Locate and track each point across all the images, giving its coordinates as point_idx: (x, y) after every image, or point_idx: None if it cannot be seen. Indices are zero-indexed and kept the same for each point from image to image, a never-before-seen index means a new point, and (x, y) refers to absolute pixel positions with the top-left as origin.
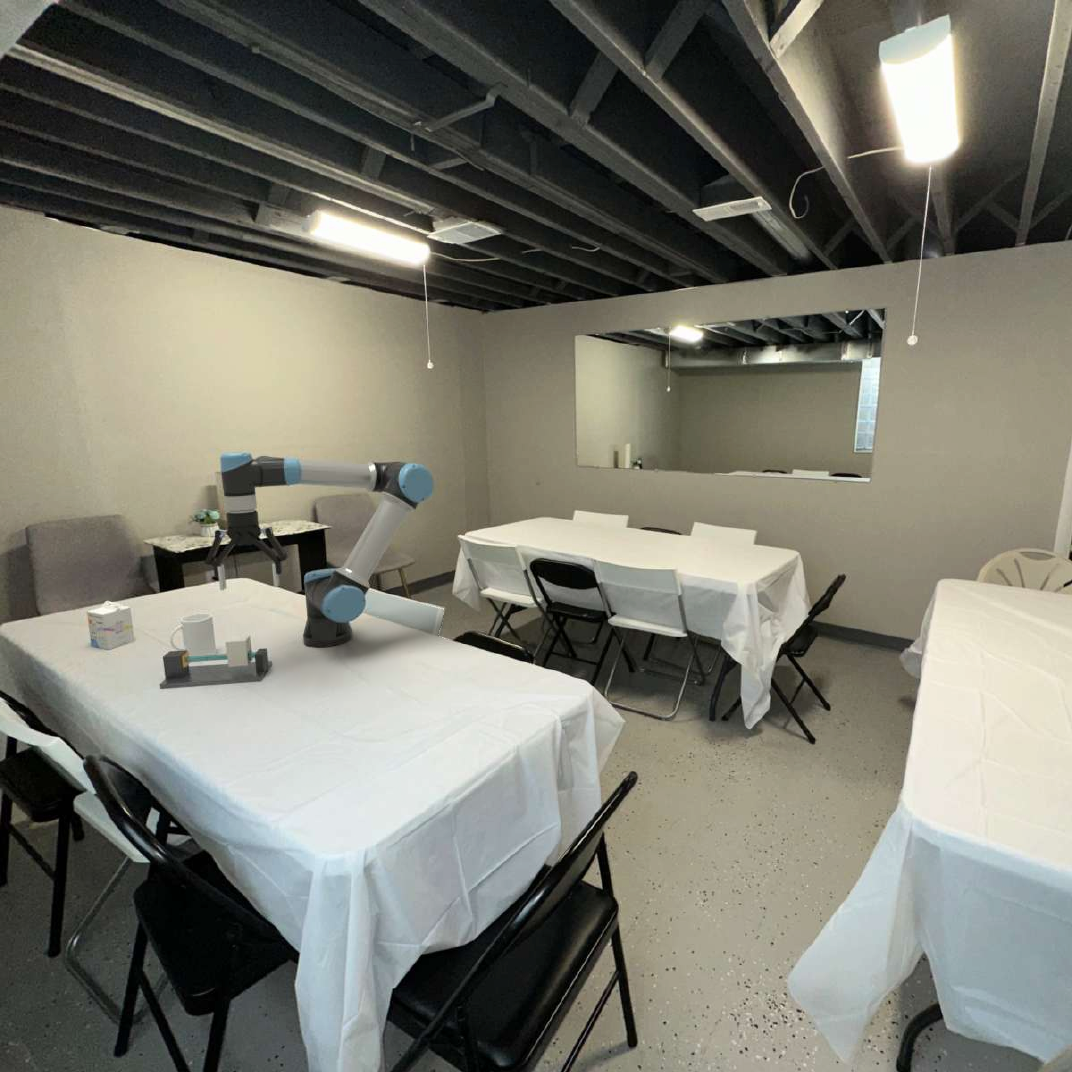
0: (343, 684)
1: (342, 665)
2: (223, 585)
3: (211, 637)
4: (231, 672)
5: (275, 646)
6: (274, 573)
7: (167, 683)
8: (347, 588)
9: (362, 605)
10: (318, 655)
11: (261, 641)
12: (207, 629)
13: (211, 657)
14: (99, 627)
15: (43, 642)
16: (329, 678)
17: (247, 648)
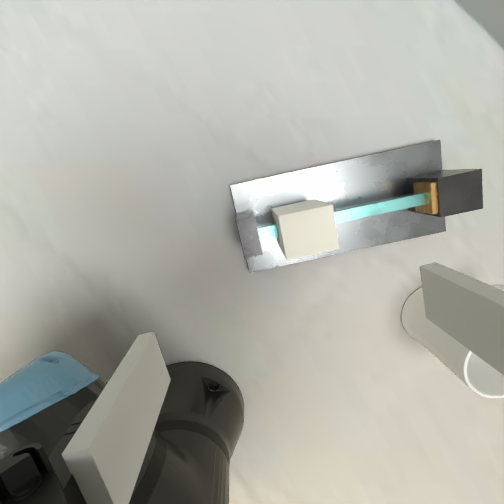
0: (33, 174)
1: (87, 272)
2: (436, 286)
3: (428, 331)
4: None
5: (290, 363)
6: (114, 386)
7: (425, 144)
8: None
9: None
10: (169, 321)
11: (334, 387)
12: (447, 335)
13: (364, 205)
14: None
15: None
16: (82, 204)
17: (277, 223)
